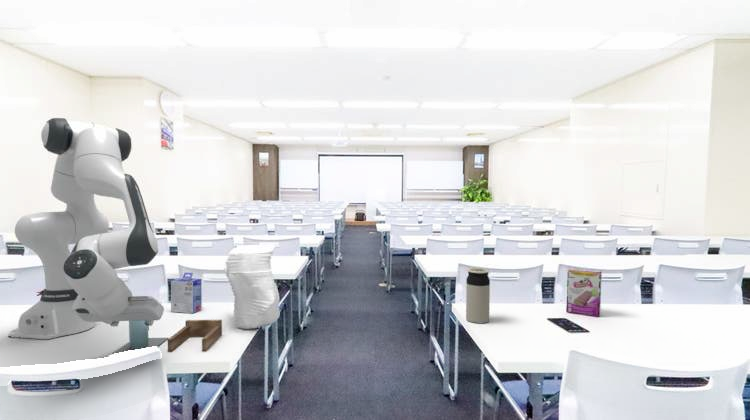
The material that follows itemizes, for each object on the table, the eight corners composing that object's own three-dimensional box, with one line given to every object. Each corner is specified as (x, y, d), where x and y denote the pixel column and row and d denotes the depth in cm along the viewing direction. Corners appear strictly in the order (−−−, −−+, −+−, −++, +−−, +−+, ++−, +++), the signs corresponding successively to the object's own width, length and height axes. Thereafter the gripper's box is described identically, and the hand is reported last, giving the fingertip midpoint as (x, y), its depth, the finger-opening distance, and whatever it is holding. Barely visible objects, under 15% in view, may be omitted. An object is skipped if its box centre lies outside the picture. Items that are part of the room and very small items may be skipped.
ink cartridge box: (202, 309, 156) (202, 272, 155) (193, 313, 150) (193, 275, 150) (180, 308, 158) (179, 271, 157) (170, 312, 152) (169, 274, 152)
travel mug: (480, 325, 137) (481, 273, 137) (461, 319, 143) (462, 269, 143) (493, 320, 143) (494, 270, 142) (474, 315, 149) (475, 267, 148)
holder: (167, 351, 114) (167, 334, 114) (187, 335, 127) (187, 319, 127) (206, 351, 115) (206, 333, 114) (221, 335, 128) (221, 319, 127)
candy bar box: (566, 312, 152) (566, 269, 151) (567, 309, 156) (568, 267, 155) (599, 317, 146) (601, 272, 145) (600, 314, 150) (601, 270, 149)
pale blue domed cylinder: (125, 349, 115) (125, 315, 114) (139, 340, 122) (138, 308, 121) (143, 349, 115) (142, 314, 114) (155, 340, 122) (155, 307, 121)
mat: (106, 357, 110) (106, 356, 110) (135, 339, 124) (135, 338, 124) (144, 357, 110) (144, 355, 110) (168, 338, 124) (168, 337, 124)
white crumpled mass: (286, 310, 154) (285, 244, 153) (275, 335, 128) (274, 254, 127) (229, 312, 153) (228, 244, 152) (206, 337, 126) (205, 255, 125)
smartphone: (569, 332, 130) (545, 318, 145) (569, 334, 130) (545, 319, 145) (591, 332, 130) (565, 317, 145) (591, 333, 130) (565, 319, 145)
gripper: (156, 286, 106) (174, 312, 116) (76, 288, 105) (101, 314, 115) (148, 308, 101) (167, 333, 111) (64, 310, 100) (91, 335, 110)
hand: (133, 323), depth 113 cm, fingers open, 8 cm apart
